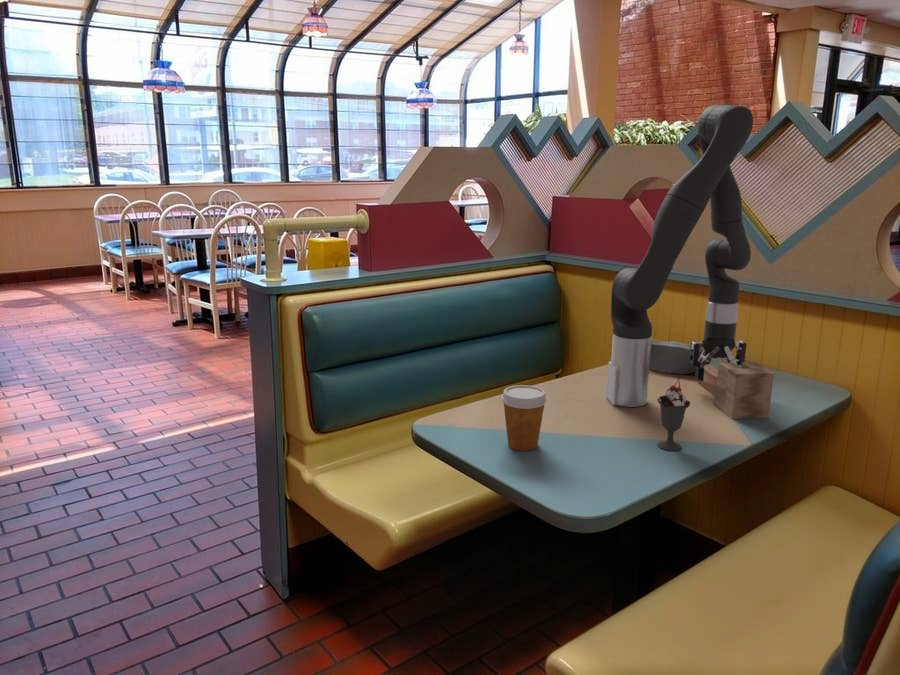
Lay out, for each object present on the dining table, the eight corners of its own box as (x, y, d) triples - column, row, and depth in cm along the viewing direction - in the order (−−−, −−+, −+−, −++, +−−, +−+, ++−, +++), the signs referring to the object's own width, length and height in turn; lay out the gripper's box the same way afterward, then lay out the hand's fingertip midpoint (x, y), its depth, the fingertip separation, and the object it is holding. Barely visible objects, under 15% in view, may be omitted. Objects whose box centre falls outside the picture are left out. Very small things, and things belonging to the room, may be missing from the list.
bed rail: (731, 409, 172) (734, 390, 171) (698, 383, 191) (699, 365, 190) (743, 409, 172) (746, 389, 171) (708, 383, 191) (710, 365, 190)
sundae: (682, 440, 154) (688, 374, 150) (689, 453, 147) (695, 384, 143) (650, 439, 154) (656, 373, 150) (656, 452, 148) (662, 383, 144)
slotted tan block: (731, 418, 166) (736, 374, 163) (714, 405, 175) (719, 362, 172) (768, 417, 167) (773, 373, 164) (749, 404, 176) (754, 361, 173)
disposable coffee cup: (516, 432, 158) (518, 381, 155) (553, 443, 152) (555, 390, 149) (491, 446, 151) (492, 392, 147) (529, 458, 145) (530, 402, 142)
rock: (711, 368, 205) (714, 341, 203) (703, 378, 196) (705, 351, 194) (648, 359, 214) (649, 334, 212) (637, 369, 205) (639, 342, 203)
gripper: (699, 323, 176) (694, 385, 180) (755, 322, 177) (748, 384, 181) (687, 316, 183) (682, 376, 188) (741, 315, 185) (734, 375, 189)
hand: (714, 380), depth 185 cm, fingers open, 7 cm apart
